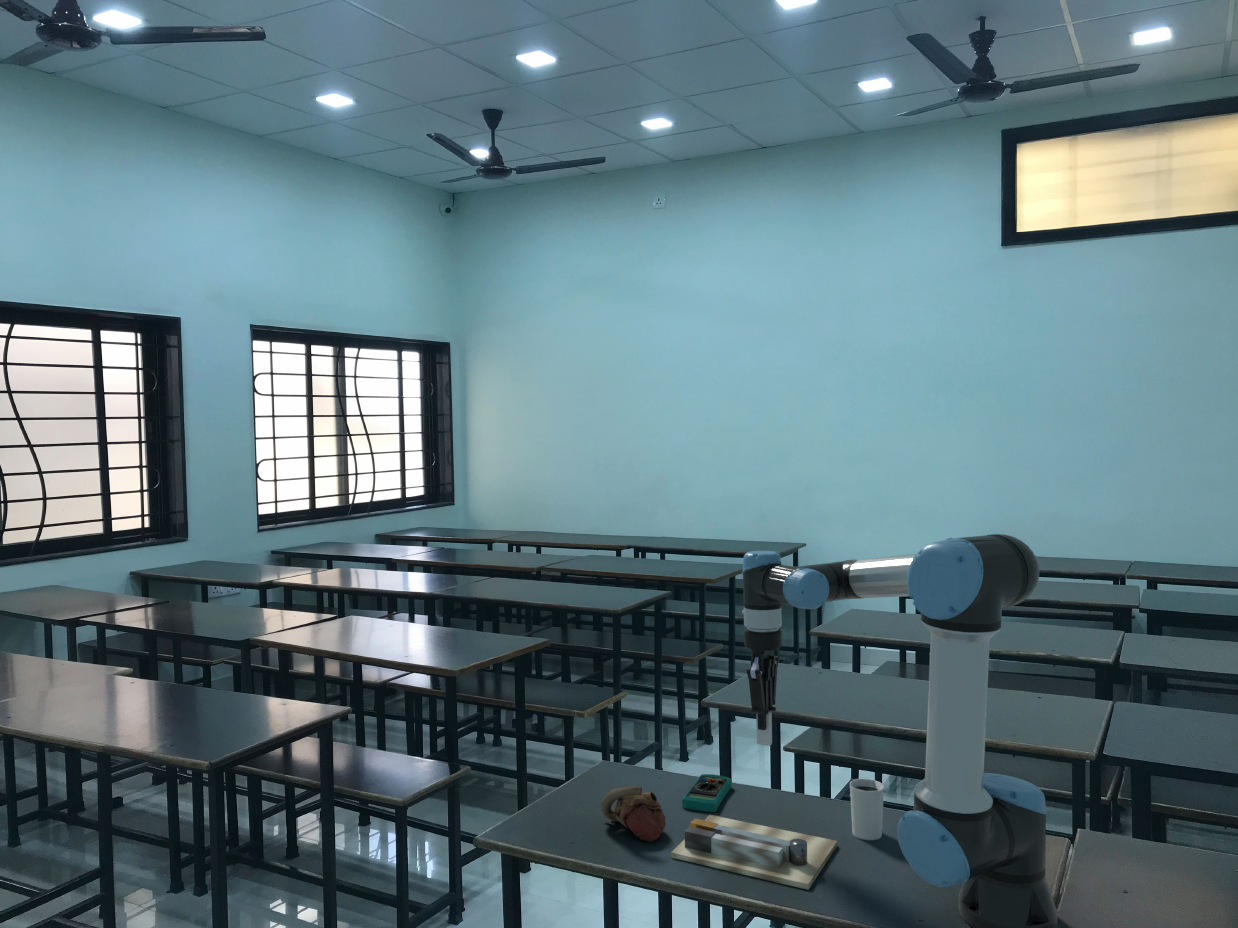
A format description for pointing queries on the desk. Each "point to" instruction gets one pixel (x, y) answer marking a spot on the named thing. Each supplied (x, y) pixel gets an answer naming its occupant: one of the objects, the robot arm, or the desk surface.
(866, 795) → the white coffee cup
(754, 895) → the desk surface
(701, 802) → the digital multimeter
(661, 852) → the desk surface
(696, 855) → the board
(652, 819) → the anatomical model
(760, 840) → the bar
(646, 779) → the desk surface
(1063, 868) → the desk surface
